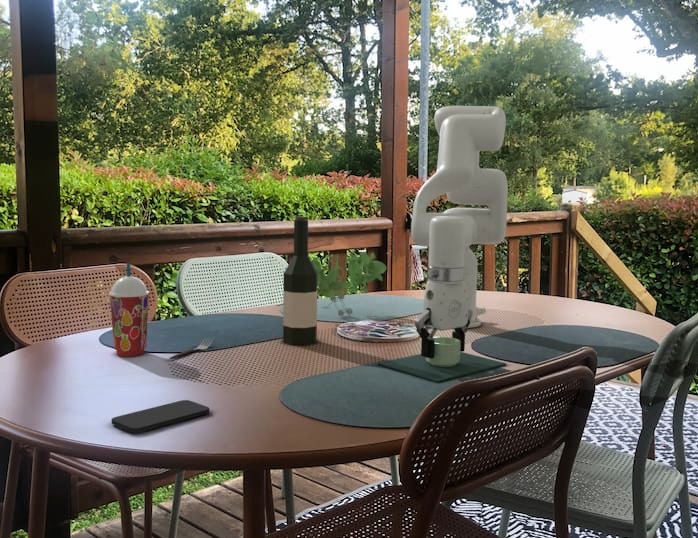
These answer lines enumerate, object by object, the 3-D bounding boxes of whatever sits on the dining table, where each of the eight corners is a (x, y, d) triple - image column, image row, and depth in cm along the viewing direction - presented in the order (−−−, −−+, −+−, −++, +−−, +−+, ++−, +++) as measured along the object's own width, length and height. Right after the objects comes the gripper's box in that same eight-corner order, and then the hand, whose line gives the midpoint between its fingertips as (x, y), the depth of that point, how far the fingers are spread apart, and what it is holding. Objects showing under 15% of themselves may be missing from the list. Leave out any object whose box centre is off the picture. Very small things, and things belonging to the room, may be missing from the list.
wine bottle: (323, 340, 183) (325, 216, 179) (306, 347, 175) (308, 218, 171) (293, 336, 186) (294, 215, 182) (276, 342, 179) (276, 216, 175)
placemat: (447, 350, 175) (447, 348, 175) (506, 365, 163) (506, 363, 163) (378, 364, 161) (378, 363, 161) (437, 382, 148) (437, 380, 148)
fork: (164, 360, 161) (164, 351, 161) (205, 345, 176) (205, 336, 176) (174, 361, 160) (174, 352, 160) (215, 346, 175) (214, 337, 175)
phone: (212, 408, 127) (134, 429, 115) (212, 413, 127) (134, 434, 116) (186, 399, 131) (108, 418, 120) (186, 403, 132) (108, 423, 120)
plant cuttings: (280, 347, 203) (333, 306, 191) (252, 293, 207) (302, 250, 195) (357, 327, 231) (407, 290, 219) (331, 280, 235) (378, 241, 223)
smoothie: (157, 351, 168) (156, 262, 166) (135, 359, 161) (133, 267, 158) (126, 347, 171) (124, 260, 169) (102, 356, 163) (99, 264, 161)
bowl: (441, 357, 167) (442, 335, 166) (466, 364, 161) (467, 341, 161) (418, 362, 162) (419, 339, 161) (443, 369, 156) (444, 345, 156)
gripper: (430, 280, 150) (428, 363, 153) (485, 273, 162) (482, 351, 164) (404, 276, 156) (402, 356, 158) (459, 269, 167) (456, 344, 170)
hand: (443, 353), depth 161 cm, fingers open, 9 cm apart
